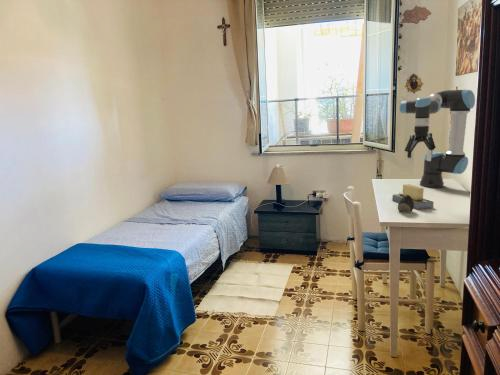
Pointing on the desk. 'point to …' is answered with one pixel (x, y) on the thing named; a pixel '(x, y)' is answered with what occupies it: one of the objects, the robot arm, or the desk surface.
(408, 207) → the stone
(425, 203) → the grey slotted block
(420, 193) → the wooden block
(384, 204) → the desk surface
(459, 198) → the desk surface
